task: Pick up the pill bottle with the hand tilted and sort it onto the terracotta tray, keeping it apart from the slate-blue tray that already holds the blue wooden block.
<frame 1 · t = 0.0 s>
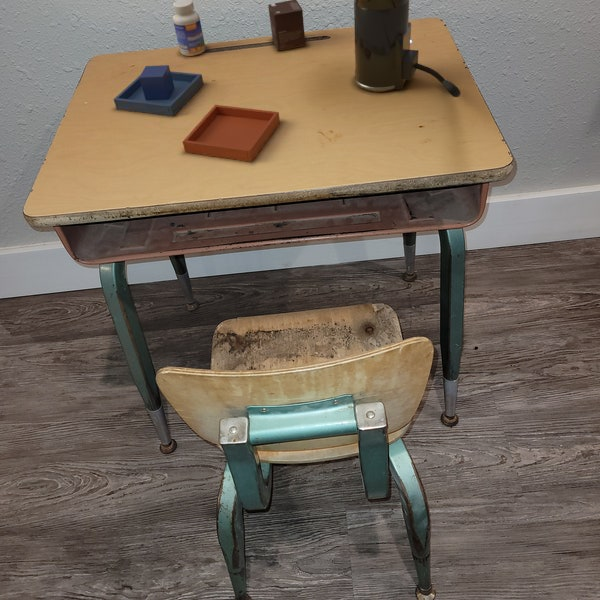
pill bottle: (193, 51, 126), on the table
box: (288, 44, 124), on the table
blue block: (160, 94, 113), resting on blue tray
warm tray: (233, 137, 101), on the table
blue tray: (160, 96, 113), on the table
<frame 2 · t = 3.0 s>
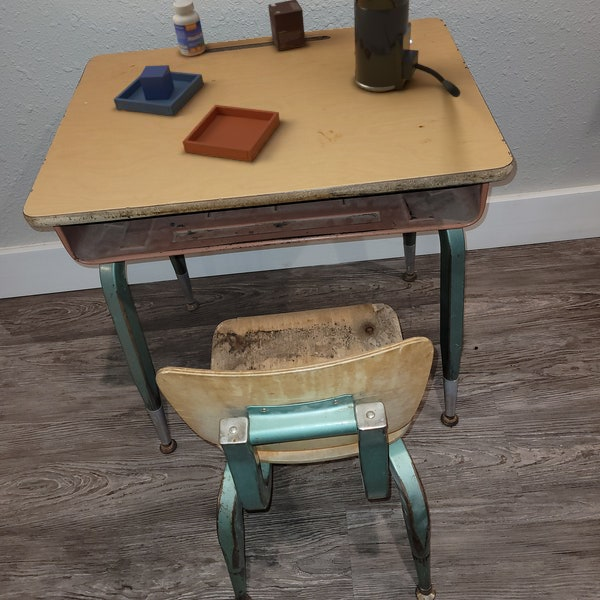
nothing on the table moved.
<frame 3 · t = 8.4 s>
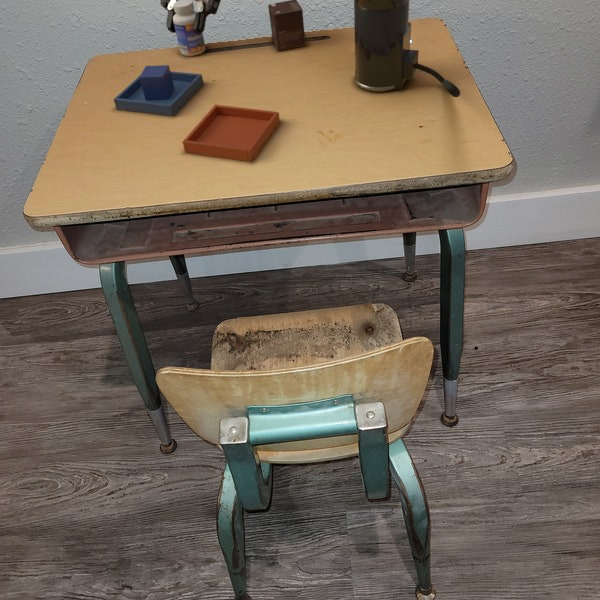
hand: (184, 32, 121), 5 cm above the table, tool tilted 45°, fingers closed on pill bottle, 5 cm apart
pill bottle: (193, 51, 126), on the table, touching gripper
everything else where it was.
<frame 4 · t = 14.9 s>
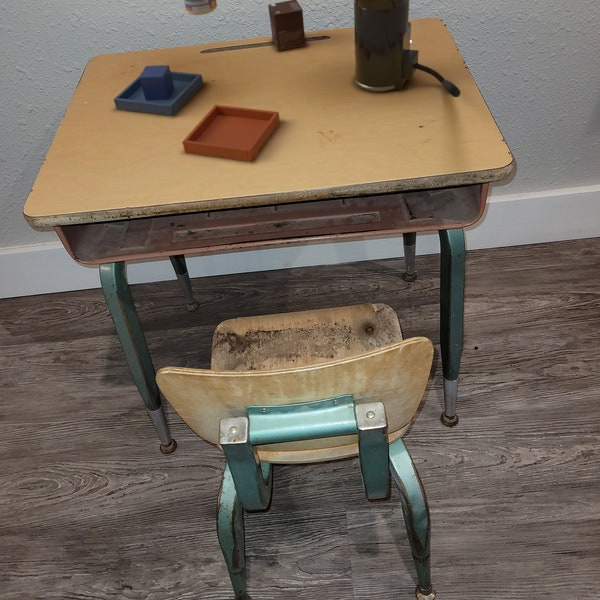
pill bottle: (201, 10, 101), point 15 cm above the table, touching gripper
everything else where it was.
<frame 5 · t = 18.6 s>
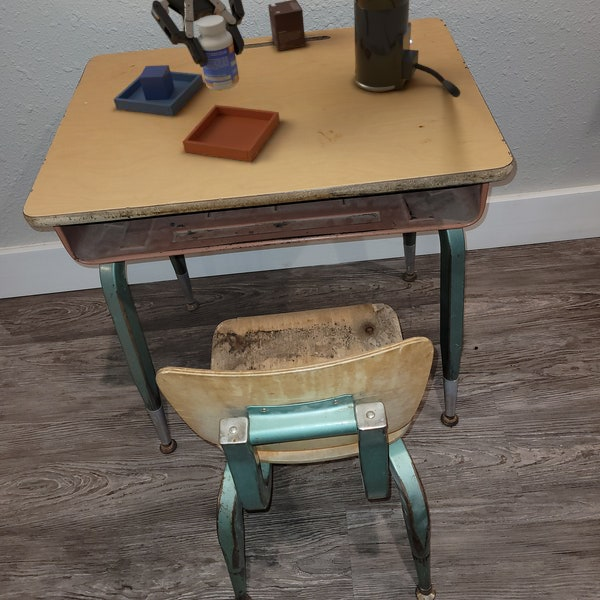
hand: (222, 58, 89), 14 cm above the table, tool tilted 45°, fingers closed on pill bottle, 5 cm apart
pill bottle: (222, 84, 94), point 9 cm above the table, touching gripper
everything else where it was.
when the fingers open (5 cm above the table, at t = 21.5 s): pill bottle stays where it is, resting on warm tray.
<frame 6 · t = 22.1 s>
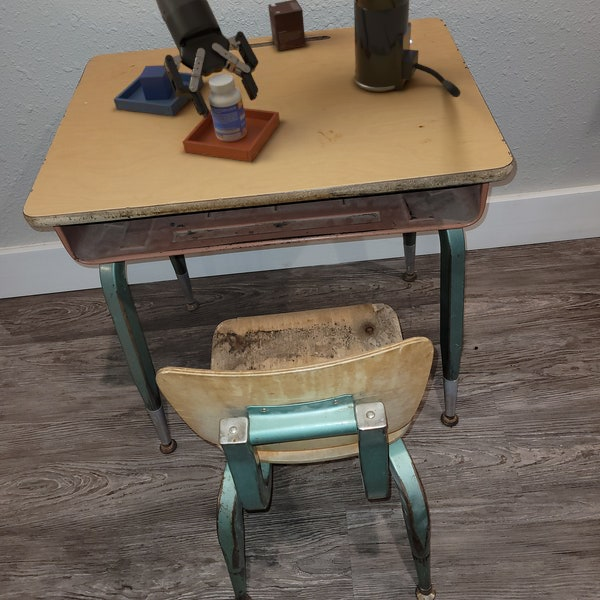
hand: (231, 106, 96), 6 cm above the table, tool tilted 45°, fingers open, 8 cm apart
pill bottle: (232, 135, 101), resting on warm tray
everything else where it was.
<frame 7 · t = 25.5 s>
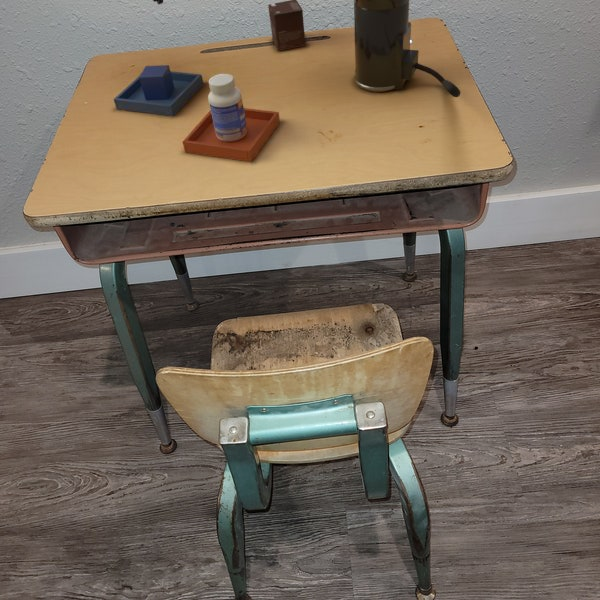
nothing on the table moved.
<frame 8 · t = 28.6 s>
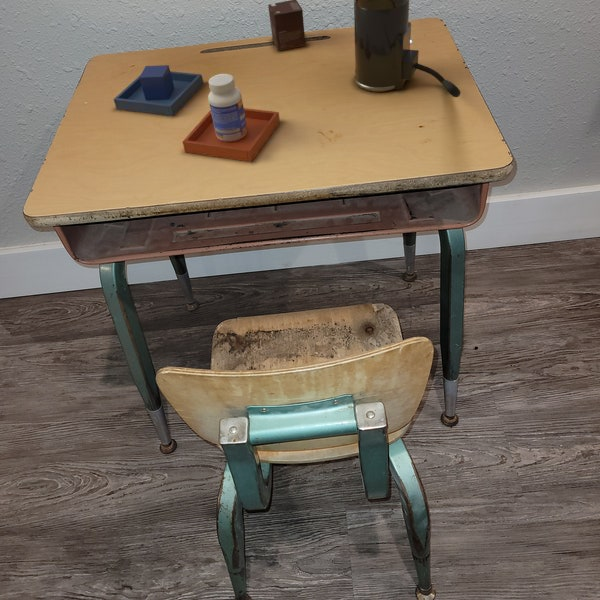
nothing on the table moved.
at the end: pill bottle inside the target area in the warm tray (0.2 cm from its centre), point 0.3 cm above the warm tray's base; pill bottle tilted 0°; blue block inside the target area in the blue tray (0.0 cm from its centre), point 0.5 cm above the blue tray's base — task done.
